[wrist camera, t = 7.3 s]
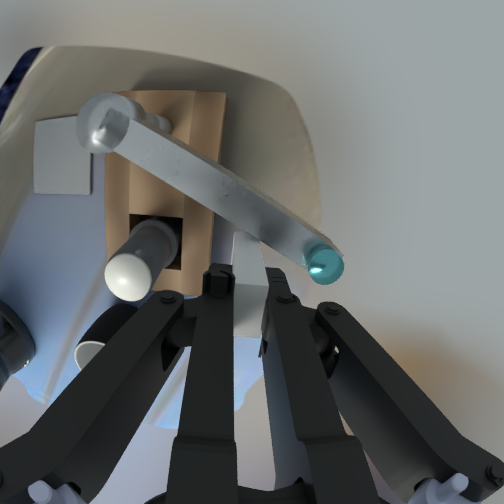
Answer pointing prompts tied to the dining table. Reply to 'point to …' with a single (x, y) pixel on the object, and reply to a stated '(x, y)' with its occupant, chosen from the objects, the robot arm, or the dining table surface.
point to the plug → (143, 257)
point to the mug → (102, 332)
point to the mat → (60, 159)
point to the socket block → (161, 193)
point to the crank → (204, 182)
